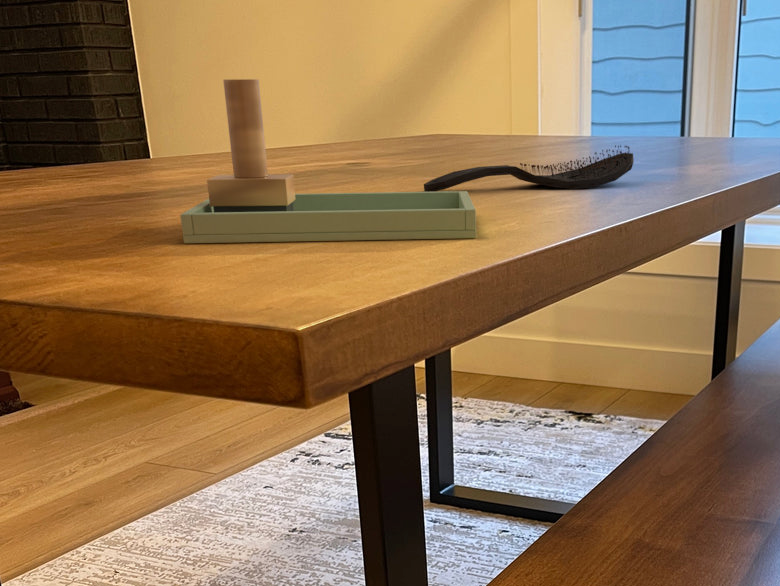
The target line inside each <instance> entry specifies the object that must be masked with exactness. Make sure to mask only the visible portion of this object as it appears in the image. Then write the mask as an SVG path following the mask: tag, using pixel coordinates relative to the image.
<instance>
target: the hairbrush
mask: <svg viewBox="0 0 780 586" xmlns="http://www.w3.org/2000/svg"><path fill="white" fill-rule="evenodd" d="M614 148H617V149H616V153H615V150H614V149H612V153H615V154H612V155H611V154H610V152H611V149H610V148H608V149H607V148H606V151H605V153H606V155H607V157H605V153H604V149H602V152H599V155H600V156H601V155H602V157H603V158H601V159H600V157H597V155H598V154H597V152H594V155H595V157H594V156H592V158H591V156H590V155H589V156H588V157H586V158H585V157H582V159H580V160H578V158H576V159H575V160H574V161H573V160H569V161H568V162H566V161H564V162H563V163H562V162H558V164H556V165H555V164H554V163H552V164H546V165H545V166H544V165H543V164H542V165H539V164H537V165H536V164H531V166H530V163H528V164H527V163H522V162H520V163H519V165H520V167H518V166H515V165H507V164H504V165H503V164H502V165H487V166H486V165H485V166H476V167H471V168H466V169H460V170H454V171H450V172H448V173H445V174H444V175H440V176H438V177H436V178H433V179H430V180H429V181H428V182H425V183H423V192H440V191H443V190H446V189H447V190H448V189H449V188H452V187H453V188H454V187H457V186H459V185H461V184H464V183H467V182H471V181H475V180H478V179H482V178H487V177H495V176H508V175H510V176H512V177H514V178H515V179H517V180H519V181H523V182H527V183H530V184H535V185H541V186H547V187H551V188H557V189H558V188H559V189H570V190H571V189H572V190H581V189H588V188H589V189H590V188H596V187H600V186H603V185H606V184H609V183H612V182H616V181H617V180H619V179H620V178H622V177H623V176H625V175H626V174H627V173H628V172H630V171H631V170H632V169H633V166H634V163H635V162H634V161H635V159H634V153H631V151H630V146H628V145H624V148H625V149H627V151H625V152H622V149H620V148H622V145H621V144H620V145H614ZM584 158H585V160H584ZM588 158H589V163H588ZM595 158H596V159H595ZM592 159H593V160H594V161H593V162H592ZM582 160H583V161H582ZM576 162H577V163H576ZM585 162H586V163H587V164H586V163H585ZM580 163H581V164H580ZM573 164H574V167H573ZM527 165H528V167H531V170H532V173H531V171H529V172H528V170H527V169H528V168H527ZM569 165H570V166H569ZM558 167H559V168H558ZM524 168H525V169H524ZM540 169H541V170H542V171H540ZM535 170H537V172H538V175H537V172H536V171H535ZM546 170H547V171H546Z"/></svg>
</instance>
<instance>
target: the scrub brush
mask: <svg viewBox="0 0 780 586" xmlns="http://www.w3.org/2000/svg"><path fill="white" fill-rule="evenodd" d="M222 82H223V90H224V91H223V92H224V99H225V108H226V117H227V126H228V135H229V143H230V145H229V146H230V154H231V163H232V171H233V174H218V175H215V176H213V177H210V178H207V179H206V183H207V184H206V185H207V192H208V199H209V201H210V206H211V207H213V209H214V213H216V212H278V211H294V209H293V201H294V200H295V194H296V189H295V179H294V177H295V176H294V174H291V173H290V174H289V173H287V174H286V173H285V174H281V173H279V174H277V173H276V174H275V173H273V174H269V171H268V160H267V151H266V141H265V130H264V120H263V110H262V101H261V100H262V98H261V90H260V80H259V79H257V78H256V79H254V78H253V79H252V78H248V79H247V78H245V79H244V78H243V79H241V78H240V79H237V78H236V79H235V78H233V79H230V78H229V79H223V81H222Z"/></svg>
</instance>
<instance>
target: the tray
mask: <svg viewBox="0 0 780 586" xmlns="http://www.w3.org/2000/svg"><path fill="white" fill-rule="evenodd" d="M293 209H294V211H278V212H216V213H214V209H213V207H211V206H210V201H209V198H207V199H205V200H203V201H201V202H200V203H198V204H197V205H195V206H193V207H191V208H189V209H187V210H186V211H183V212H182V213H180V214H179V215H180V216H179V217H180V223H181V230H182V232H181V233H182V235H183V236H182V239H183V244H185V245H187V244H231V243H232V244H235V243H238V244H239V243H241V244H242V243H287V242H289V243H291V242H294V243H295V242H340V241H341V242H342V241H343V242H344V241H347V242H348V241H350V242H351V241H399V240H400V241H401V240H403V241H404V240H448V239H449V240H452V239H454V240H456V239H458V240H459V239H476V238H477V210H476V207H475V205H474V203H473V201H472V198H471V197H470V195H469V192H468V190H452V191H451V190H448V191H446V190H445V191H443V190H439V191H435V192H424V191H386V192H385V191H382V192H381V191H379V192H373V191H372V192H317V193H314V192H313V193H307V192H306V193H295V200H294V201H293Z"/></svg>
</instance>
